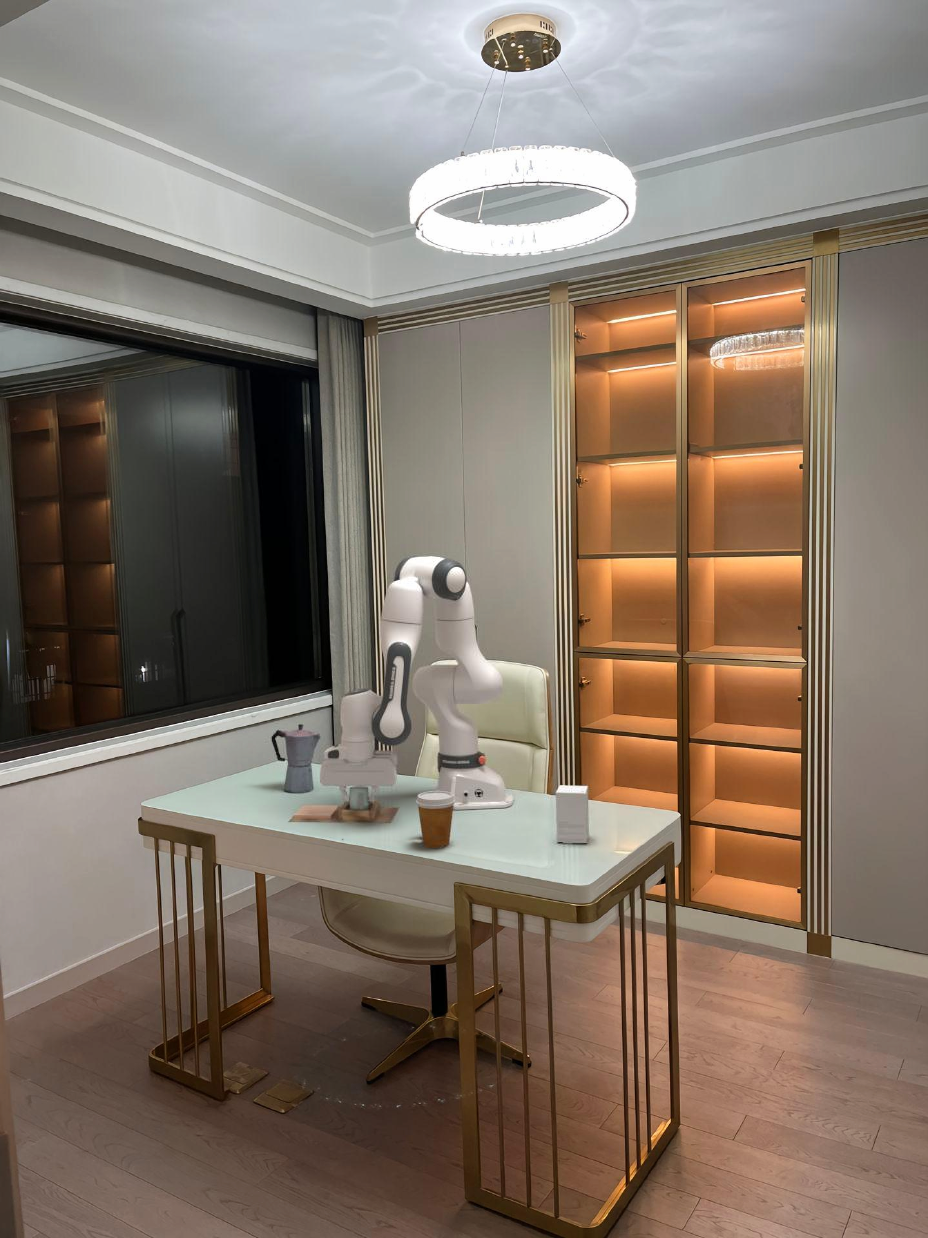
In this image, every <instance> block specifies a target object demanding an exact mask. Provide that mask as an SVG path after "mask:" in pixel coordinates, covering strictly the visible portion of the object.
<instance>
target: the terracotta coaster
mask: <svg viewBox="0 0 928 1238" xmlns="http://www.w3.org/2000/svg"><path fill="white" fill-rule="evenodd" d="M339 807H340V805H331V804H330V805H323V804H322V805H320V804H317V805H315V804H312V805H311V804H309V805H308V804H303V805H302V806H301V807H299V809H298V810H297V811H296V812H295V813H294V814H293V816H294V818H332V816H333V815H334V814H335V813H336V812H337V810H338V809H339Z"/></svg>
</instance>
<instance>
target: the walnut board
mask: <svg viewBox="0 0 928 1238" xmlns="http://www.w3.org/2000/svg"><path fill="white" fill-rule="evenodd" d="M380 805H381V803H380V801H374V802H373V803H369V810H350V802H344V803H343V804H342V805H341V806H339V809H338V810H337V812H336V813H335V814H334V815H333V816H332V818H294V815H293V816H292V817H291V818H290V820H288V823H346V824H347V823H348V824H349V823H351V824H352V823H354V824H355V823H359V824H360V823H362V824H364V823H365V824H366V823H369V824H371V823H372V824H391V823H392V822H393V820H394V818H395V816H396V815H397V812H398V811H399V809H400V807H399V806H397V807H395V806H394V807H393V806H392V807H389V806H380Z"/></svg>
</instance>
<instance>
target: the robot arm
mask: <svg viewBox="0 0 928 1238" xmlns="http://www.w3.org/2000/svg"><path fill="white" fill-rule="evenodd" d="M467 579H468V577H467V572H466V569H465V568H464V566H463V565H462V564H461V562H459V561H457V560H455V559H452V558H443V557H439V556H434V555H433V556H431V555H430V556H417V555H415V556H408V557H405V558H403V559H402V560H401V561H399V563H398V565H397V566H396V569H395V572H394V577H393V582H391V583H390V584H389V586H388V588H387V591H386V593H385V597H384V601H383V606H382V611H381V617H380V626H379V627H380V628H379V629H380V630H379V631H380V632H379V635H380V636H379V637H380V647H381V651H382V654H383V655H382V656H383V660H384V680H383V689H382V690H383V691H382V696H381V695H379V694H377V693H375V692H374V691H372V690H371V689H370V688H357V689H354V690H351V691H347V692H346V693H345V694H344V695H343V697H342V698H341V703H340V726H341V731H342V733H341V736H340V743H339V744H336V745H333V746H330V747H328V748H327V749H326V750H325V751H323V757H324V758H323V759H324V760H323V761H322V762H321V765H320V770H319V783H320V784H321V785H322V786H324V787H339V791H340V793H341V794H342V796H343V802H344V803H345V802H350V794H349V793H347V791H346V789H347V787H354V786H367V787H371V790H372V793H371V794H369V796H368V803H373V802H375V794H376V793H377V791H378V790H379V787H393V786H395V784H396V783H397V782H398V781H397V780H398V775H397V773H398V772H397V766H398V755H397V754H396V753H395V752H393V751H391V750H379V749H377V750H376V749H375V746H376V745H375V739H376V741H377V742H378V743H380V744H382V745H384V746H388V747H395V746H399V745H401V744H403V743H405V741H406V740H407V739H408V738H409V737H410V735H411V731H412V720H411V717H410V714H409V711H408V705H407V704H408V693H409V683H410V674H411V668H412V664H413V662H414V658H415V656H416V654H417V653H416V652H417V649H418V647H419V644H420V641H421V637H422V636H421V635H422V631H423V623H424V613H425V612H424V606H425V604H426V602H427V600H428V599H429V598H432V599H433V601H434V628H435V629H434V630H435V632H434V633H435V643H436V645H437V647H438V648H439V649H440V650H441V651H442V652H443V653H446V654H448V655H450V656H451V657H453V659H455V661H456V663H457V664H431V665H426V666H422V667H419V668H418V669H417V670H416V672H415V673H414V674H413V678H412V683H411V684H412V690H413V691H412V692H413V693H414V695H415V696H416V698H417V699H418V700H419V701H420V702H422V703H423V704H424V705H425V706H426V707H427V708H428V709H429V711H430V712H431V714H432V715H433V718H434V720H435V723H436V727H437V735H438V752H437V755H436V756H437V757H436V763H437V764H436V765H437V767H436V769H437V772H438V779H437V786H436V791H445V792H450V793H452V794H453V796H454V799H455V802H454V805H453V811H454V810H455V811H457V810H459V811H460V810H481V809H482V810H483V809H484V810H485V809H502V808H503V809H504V808H510V806H512V805H513V804H514V801H515V800H514V795H513V794H512V793H510V792H507V789H506V783H505V782H504V779H503V777H502V776H501V775H500V774H498V773H497V772H495V771H494V770H493V769H492V768H490V767H489V766H487V765H486V761H487V758H486V754H485V752H481V751H479V732H478V731H479V730H478V729H479V728H478V725H477V723H476V722H475V721H474V719H472V718H471V717H469V716H467V715H465V714H463V713H462V712H461V711H460V710H459V709H458V704H459V705H460V704H463V705H464V704H467V705H468V704H469V705H482V704H488V703H492V702H493V703H494V702H496V701H497V700H498V699H499V698H500V696H501V695H502V692H503V690H504V681H503V680H504V679H503V677H502V674H501V672H500V671H499V669H498V668H496V667H495V666H494V665H492V664H491V663H489V661H488V660H487V659H486V658H485V656H484V655H483V654H482V652H481V651H480V650H481V649H480V648H479V645H478V640H477V636H476V635H477V634H476V625H475V624H476V623H475V608H474V599H473V595H472V591H471V586H470V583H469V582H468V581H467Z"/></svg>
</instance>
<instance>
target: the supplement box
mask: <svg viewBox="0 0 928 1238" xmlns="http://www.w3.org/2000/svg"><path fill="white" fill-rule="evenodd" d="M555 808H556V809H555V811H556V813H555V815H556V816H555V817H556V842H563V843H562V844H572V843H588V840H587V839H589V837H590V828H589V826H590V825H589V821H590V820H589V819H590V817H589V786H588V785H564V784H563V785H561V784H560V785H559V786H558V788H557V789H556V791H555ZM588 836H589V837H588Z"/></svg>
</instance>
